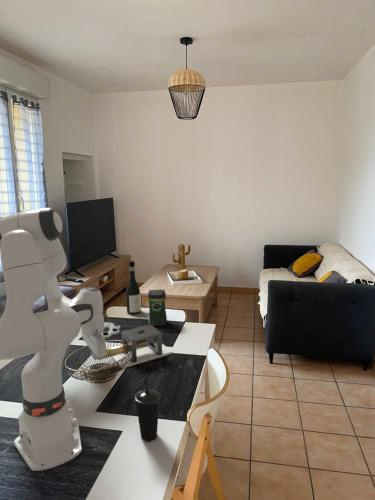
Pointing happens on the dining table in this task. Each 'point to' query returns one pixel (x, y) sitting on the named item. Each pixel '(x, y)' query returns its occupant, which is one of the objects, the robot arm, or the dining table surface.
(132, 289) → the wine bottle
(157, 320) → the coffee jar
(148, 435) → the drinking cup
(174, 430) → the dining table surface
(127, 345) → the brass air tube
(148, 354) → the grey base plate
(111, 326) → the grey looped trivet
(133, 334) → the iron frame
